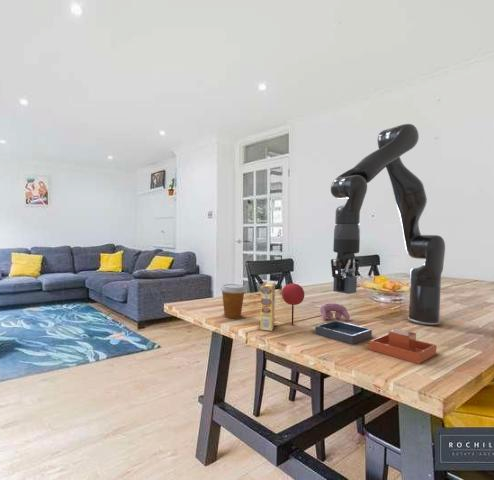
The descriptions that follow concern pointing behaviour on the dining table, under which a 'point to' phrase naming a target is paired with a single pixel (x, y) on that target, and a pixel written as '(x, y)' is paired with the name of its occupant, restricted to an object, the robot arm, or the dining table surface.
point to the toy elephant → (337, 308)
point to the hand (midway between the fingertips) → (344, 289)
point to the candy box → (267, 306)
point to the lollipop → (293, 295)
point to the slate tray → (343, 332)
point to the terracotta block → (402, 339)
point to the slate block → (347, 285)
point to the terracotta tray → (417, 356)
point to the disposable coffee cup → (233, 299)
